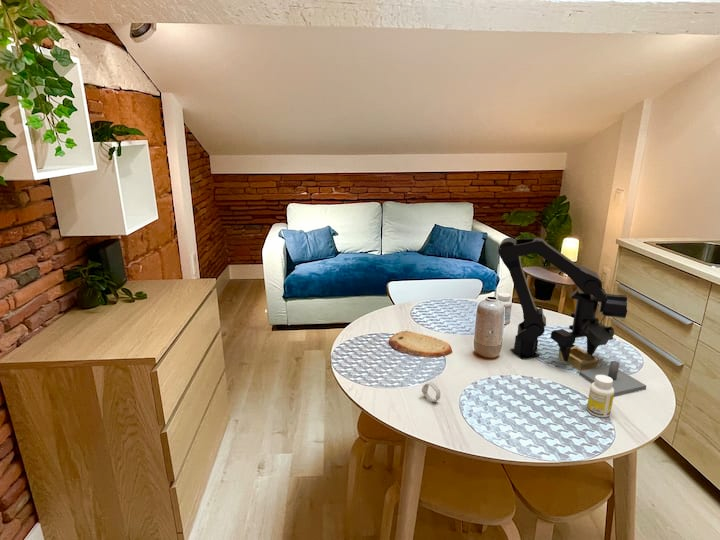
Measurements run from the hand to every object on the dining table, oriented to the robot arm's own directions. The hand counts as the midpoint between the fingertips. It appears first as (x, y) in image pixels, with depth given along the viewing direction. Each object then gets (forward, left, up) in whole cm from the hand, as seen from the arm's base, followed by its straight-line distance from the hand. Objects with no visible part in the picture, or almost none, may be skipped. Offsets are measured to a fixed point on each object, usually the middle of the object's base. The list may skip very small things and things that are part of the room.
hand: (577, 358), depth 136 cm
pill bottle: (-4, +34, -2) cm, 34 cm away
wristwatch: (-53, -4, -2) cm, 53 cm away
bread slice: (-43, +25, -2) cm, 50 cm away
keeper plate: (+1, -12, -1) cm, 12 cm away
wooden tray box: (0, 0, -1) cm, 1 cm away
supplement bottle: (-14, -22, -2) cm, 26 cm away
